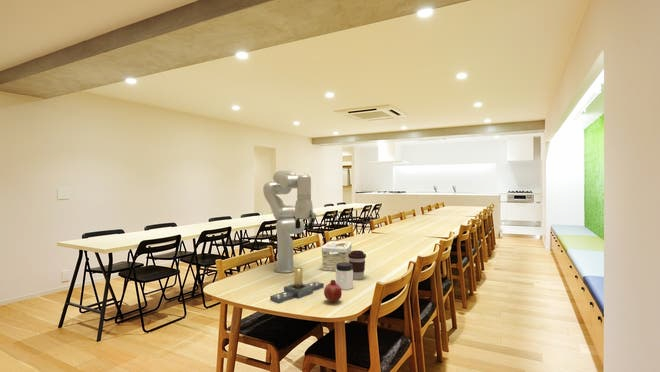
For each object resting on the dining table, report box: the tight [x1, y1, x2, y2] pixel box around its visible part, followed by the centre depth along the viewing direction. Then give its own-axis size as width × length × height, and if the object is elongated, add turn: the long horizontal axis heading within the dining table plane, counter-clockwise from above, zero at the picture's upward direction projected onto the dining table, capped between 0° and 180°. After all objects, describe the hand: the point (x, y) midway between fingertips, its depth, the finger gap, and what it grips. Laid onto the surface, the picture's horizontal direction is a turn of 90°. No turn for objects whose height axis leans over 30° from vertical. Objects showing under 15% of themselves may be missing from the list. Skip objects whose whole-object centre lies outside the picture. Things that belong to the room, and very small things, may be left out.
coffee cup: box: [348, 250, 367, 281], centre depth 191 cm, size 10×10×15 cm
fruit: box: [323, 279, 342, 303], centre depth 153 cm, size 8×8×10 cm
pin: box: [293, 267, 304, 289], centre depth 165 cm, size 4×4×12 cm
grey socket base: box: [269, 281, 325, 304], centre depth 165 cm, size 10×30×3 cm, turn 140°
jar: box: [335, 262, 354, 291], centre depth 174 cm, size 9×8×12 cm
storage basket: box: [321, 240, 353, 272], centre depth 217 cm, size 24×16×15 cm
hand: (304, 229), depth 186 cm, fingers open, 9 cm apart
